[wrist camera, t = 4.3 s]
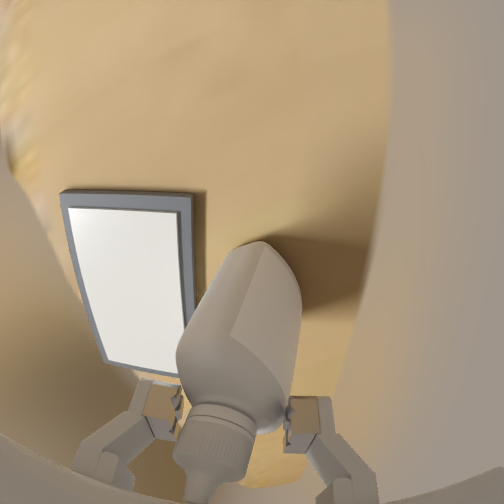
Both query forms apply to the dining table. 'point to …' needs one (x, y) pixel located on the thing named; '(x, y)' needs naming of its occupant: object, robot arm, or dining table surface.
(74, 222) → the paper
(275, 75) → the dining table surface
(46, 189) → the dining table surface
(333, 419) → the robot arm
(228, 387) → the eye dropper bottle
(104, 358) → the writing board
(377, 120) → the dining table surface
